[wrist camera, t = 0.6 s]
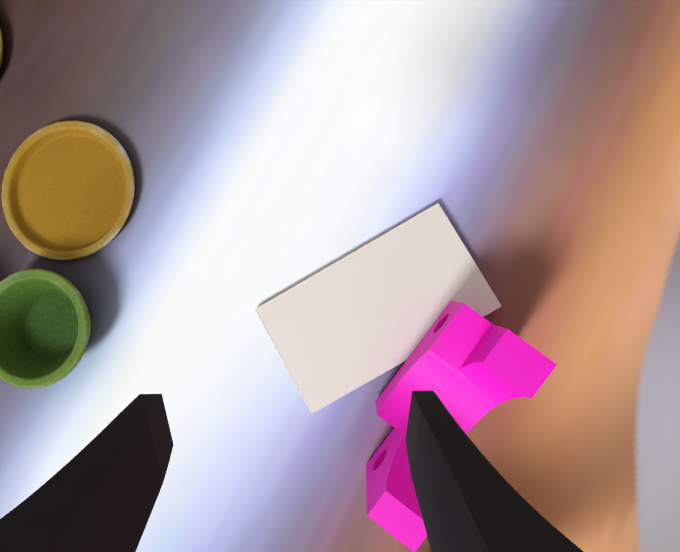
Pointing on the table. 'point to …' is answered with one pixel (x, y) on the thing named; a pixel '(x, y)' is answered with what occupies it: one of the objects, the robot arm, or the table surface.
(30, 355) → the tableware set
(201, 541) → the table surface
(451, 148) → the table surface
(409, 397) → the toy block
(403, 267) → the mat
